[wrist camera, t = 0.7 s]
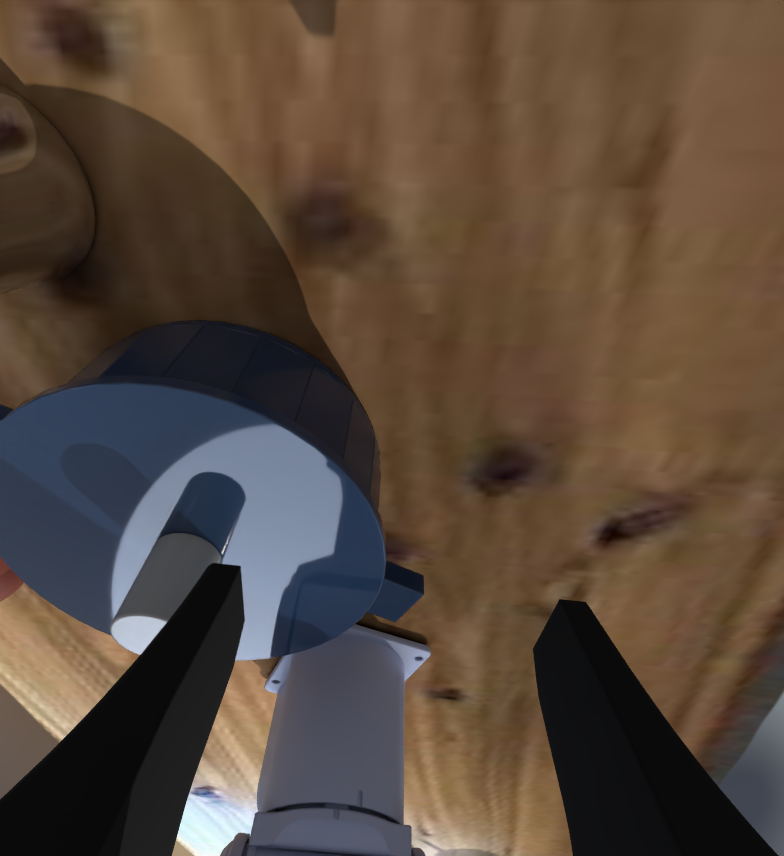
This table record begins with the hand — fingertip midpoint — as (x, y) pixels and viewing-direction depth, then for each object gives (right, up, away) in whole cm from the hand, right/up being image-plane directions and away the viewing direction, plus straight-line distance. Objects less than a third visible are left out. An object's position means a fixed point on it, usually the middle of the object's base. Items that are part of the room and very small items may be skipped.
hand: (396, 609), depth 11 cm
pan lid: (-7, 0, +7) cm, 10 cm away
